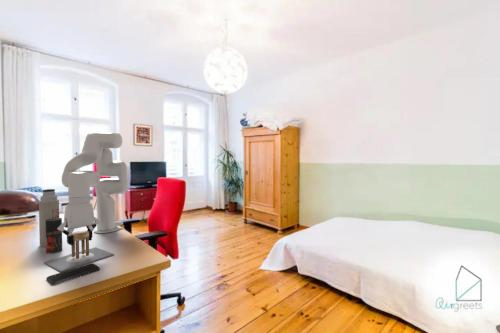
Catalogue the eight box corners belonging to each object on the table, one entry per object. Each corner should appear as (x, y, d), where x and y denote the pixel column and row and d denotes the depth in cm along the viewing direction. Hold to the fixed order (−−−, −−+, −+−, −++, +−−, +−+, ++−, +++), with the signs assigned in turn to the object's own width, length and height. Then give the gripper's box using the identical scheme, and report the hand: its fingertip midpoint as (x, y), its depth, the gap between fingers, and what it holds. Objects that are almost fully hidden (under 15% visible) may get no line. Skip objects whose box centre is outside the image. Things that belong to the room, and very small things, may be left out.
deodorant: (65, 249, 116) (64, 218, 116) (51, 254, 110) (51, 221, 110) (56, 248, 118) (56, 217, 118) (43, 252, 112) (42, 220, 112)
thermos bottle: (63, 242, 127) (62, 188, 127) (48, 247, 119) (47, 190, 119) (51, 241, 129) (50, 188, 128) (35, 246, 121) (34, 190, 120)
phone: (100, 268, 94) (52, 283, 82) (100, 270, 94) (52, 286, 82) (92, 263, 99) (45, 276, 87) (92, 265, 99) (45, 280, 87)
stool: (85, 252, 109) (84, 230, 109) (92, 254, 106) (91, 232, 106) (68, 256, 104) (68, 233, 103) (75, 260, 100) (75, 236, 100)
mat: (95, 248, 117) (95, 247, 117) (113, 255, 109) (113, 253, 109) (44, 263, 100) (44, 261, 100) (60, 272, 92) (60, 270, 92)
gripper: (96, 197, 114) (97, 235, 114) (51, 202, 99) (52, 246, 99) (105, 198, 110) (105, 238, 110) (59, 204, 95) (59, 250, 95)
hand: (80, 241), depth 105 cm, fingers closed on stool, 6 cm apart
